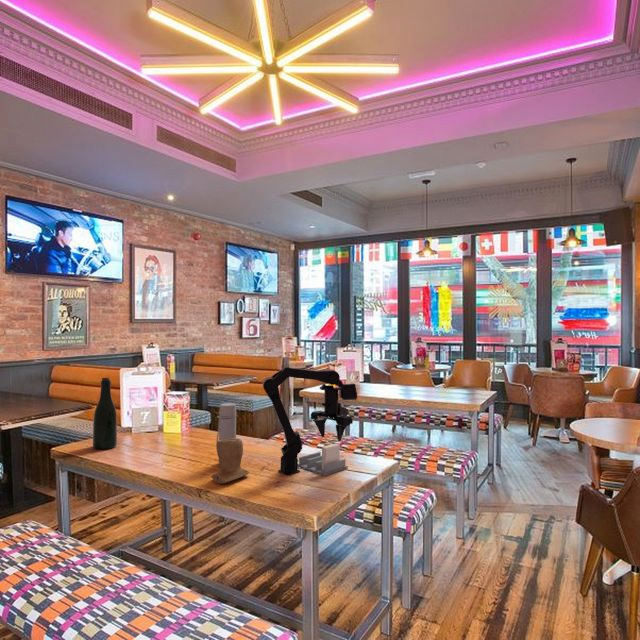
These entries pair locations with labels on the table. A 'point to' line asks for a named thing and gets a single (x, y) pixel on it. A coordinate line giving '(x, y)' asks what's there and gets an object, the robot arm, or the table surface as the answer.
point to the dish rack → (320, 464)
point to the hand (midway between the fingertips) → (331, 438)
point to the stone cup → (229, 461)
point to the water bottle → (227, 422)
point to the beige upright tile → (330, 454)
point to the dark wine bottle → (105, 419)
